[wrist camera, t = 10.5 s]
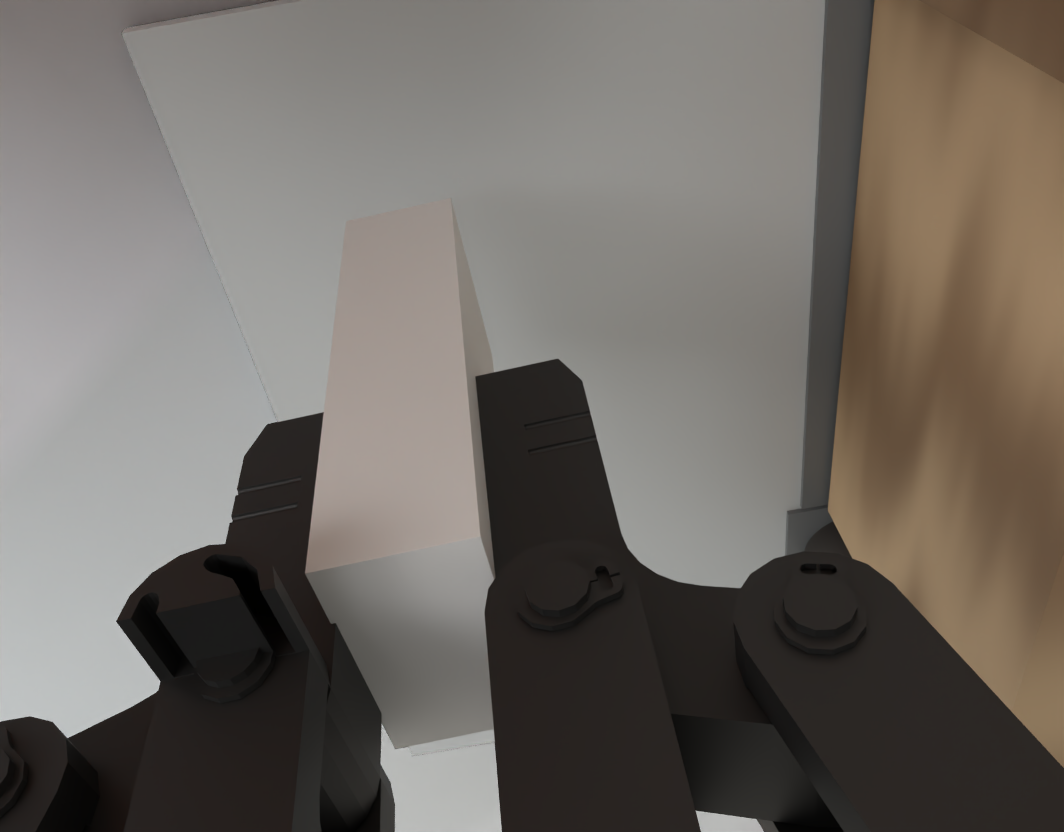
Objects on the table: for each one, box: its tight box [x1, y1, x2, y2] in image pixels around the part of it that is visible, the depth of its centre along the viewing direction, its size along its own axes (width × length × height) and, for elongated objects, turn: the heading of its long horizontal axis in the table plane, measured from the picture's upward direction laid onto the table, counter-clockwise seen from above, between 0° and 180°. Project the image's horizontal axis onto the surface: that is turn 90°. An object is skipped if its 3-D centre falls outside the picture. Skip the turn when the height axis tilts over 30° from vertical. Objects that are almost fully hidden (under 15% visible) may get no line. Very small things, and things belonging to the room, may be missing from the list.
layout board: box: [121, 0, 875, 756], centre depth 19 cm, size 19×23×1 cm
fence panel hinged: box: [828, 0, 1064, 768], centre depth 14 cm, size 12×2×8 cm, turn 7°
